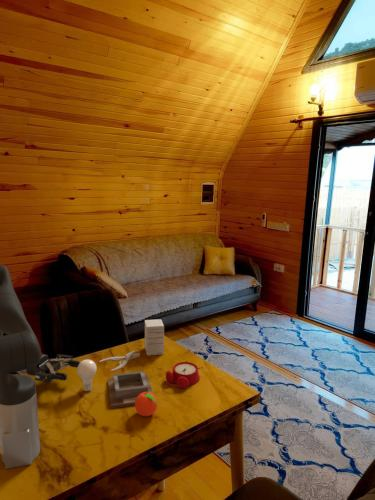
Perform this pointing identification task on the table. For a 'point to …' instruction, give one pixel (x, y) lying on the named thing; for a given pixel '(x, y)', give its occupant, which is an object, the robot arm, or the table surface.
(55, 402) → the table surface
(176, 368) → the alarm clock
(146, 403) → the clementine
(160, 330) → the supplement box
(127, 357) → the pliers
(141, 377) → the socket stand
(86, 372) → the lightbulb
